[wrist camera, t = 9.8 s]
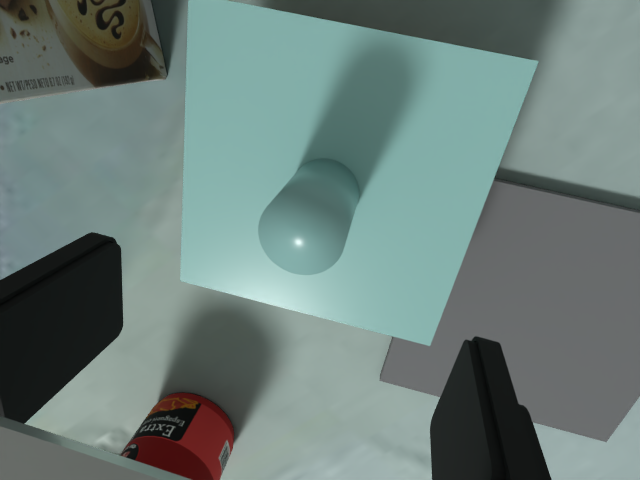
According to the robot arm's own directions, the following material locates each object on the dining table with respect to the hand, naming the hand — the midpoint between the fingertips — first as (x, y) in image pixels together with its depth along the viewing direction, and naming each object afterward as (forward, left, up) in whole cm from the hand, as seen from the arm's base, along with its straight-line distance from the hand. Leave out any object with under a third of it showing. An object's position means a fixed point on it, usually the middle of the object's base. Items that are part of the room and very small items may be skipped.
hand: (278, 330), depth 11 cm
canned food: (+9, +25, -16) cm, 31 cm away
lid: (+1, -1, -10) cm, 10 cm away
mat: (-13, +6, -15) cm, 21 cm away
